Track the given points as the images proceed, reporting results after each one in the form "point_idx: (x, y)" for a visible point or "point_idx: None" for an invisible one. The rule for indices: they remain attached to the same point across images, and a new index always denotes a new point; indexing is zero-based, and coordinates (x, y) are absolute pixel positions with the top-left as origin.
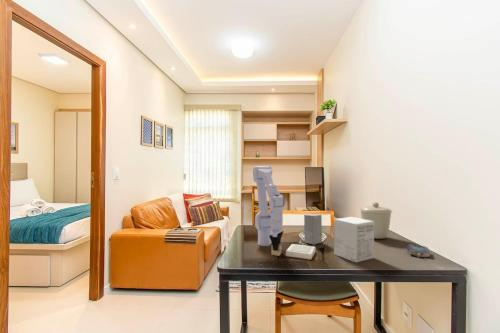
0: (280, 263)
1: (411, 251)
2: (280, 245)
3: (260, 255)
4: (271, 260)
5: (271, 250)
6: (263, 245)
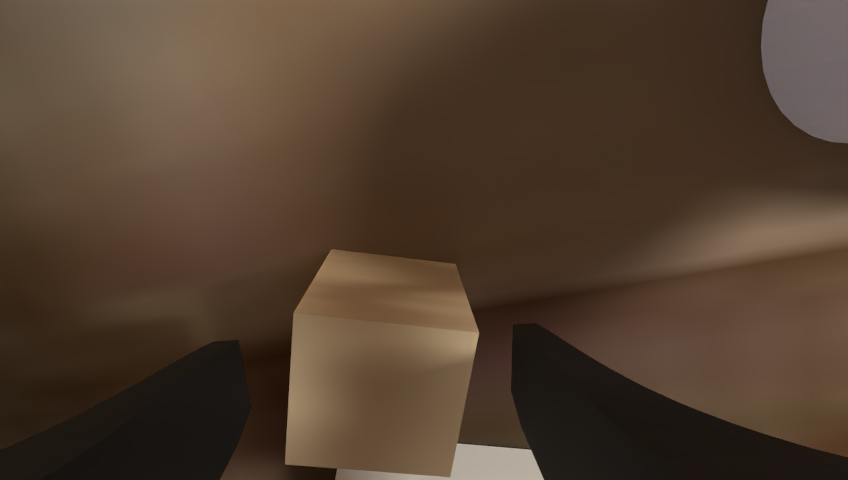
0: (45, 417)
1: None
2: (370, 470)
3: (228, 85)
4: (90, 296)
5: (318, 274)
6: (771, 18)
